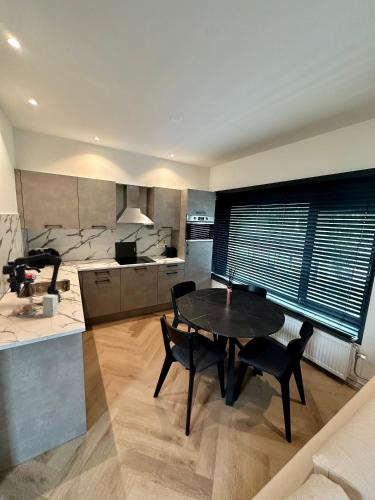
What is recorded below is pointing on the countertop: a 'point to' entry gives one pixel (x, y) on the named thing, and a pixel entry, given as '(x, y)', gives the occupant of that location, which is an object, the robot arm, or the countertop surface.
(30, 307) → the walnut block
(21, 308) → the peach rounded capsule
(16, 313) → the peach capsule shape
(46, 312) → the skincare box
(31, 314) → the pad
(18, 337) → the countertop surface
